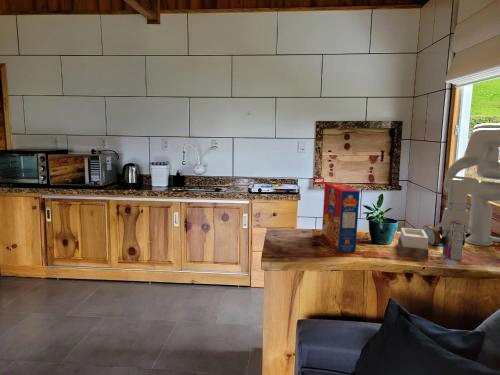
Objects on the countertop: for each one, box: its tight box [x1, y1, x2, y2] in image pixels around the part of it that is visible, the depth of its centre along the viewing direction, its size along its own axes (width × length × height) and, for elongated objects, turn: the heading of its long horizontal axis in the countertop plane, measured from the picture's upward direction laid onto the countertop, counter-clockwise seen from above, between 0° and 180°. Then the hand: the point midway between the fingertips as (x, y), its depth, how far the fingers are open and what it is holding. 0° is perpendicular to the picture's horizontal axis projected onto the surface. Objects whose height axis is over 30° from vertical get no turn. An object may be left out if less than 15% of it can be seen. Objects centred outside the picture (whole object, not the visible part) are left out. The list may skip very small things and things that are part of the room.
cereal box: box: [321, 182, 361, 253], centre depth 182 cm, size 28×8×28 cm, turn 4°
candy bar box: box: [442, 222, 465, 261], centre depth 167 cm, size 11×5×16 cm, turn 168°
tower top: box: [399, 227, 429, 250], centre depth 173 cm, size 10×16×5 cm, turn 163°
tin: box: [422, 224, 441, 246], centre depth 188 cm, size 15×3×8 cm, turn 178°
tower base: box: [397, 236, 430, 260], centre depth 173 cm, size 12×18×4 cm, turn 159°
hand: (452, 245), depth 167 cm, fingers open, 6 cm apart
